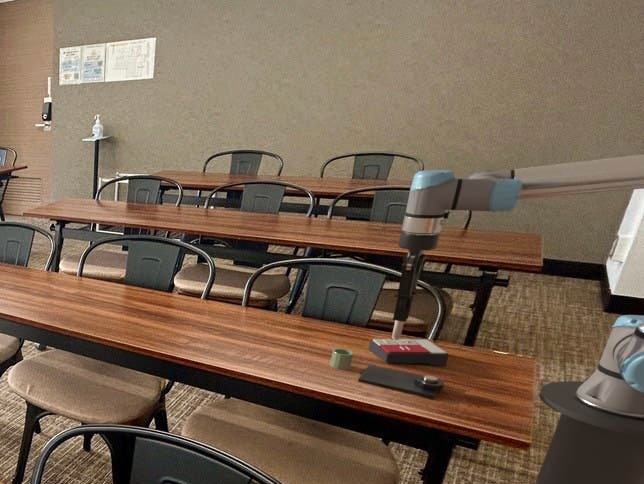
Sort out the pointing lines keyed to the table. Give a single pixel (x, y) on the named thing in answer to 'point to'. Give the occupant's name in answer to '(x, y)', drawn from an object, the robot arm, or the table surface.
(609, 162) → the robot arm
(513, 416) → the table surface
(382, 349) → the calculator
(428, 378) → the button
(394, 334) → the stylus
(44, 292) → the table surface
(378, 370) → the tablet
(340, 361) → the pen cup
